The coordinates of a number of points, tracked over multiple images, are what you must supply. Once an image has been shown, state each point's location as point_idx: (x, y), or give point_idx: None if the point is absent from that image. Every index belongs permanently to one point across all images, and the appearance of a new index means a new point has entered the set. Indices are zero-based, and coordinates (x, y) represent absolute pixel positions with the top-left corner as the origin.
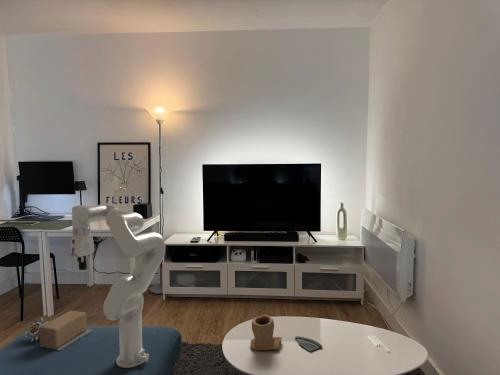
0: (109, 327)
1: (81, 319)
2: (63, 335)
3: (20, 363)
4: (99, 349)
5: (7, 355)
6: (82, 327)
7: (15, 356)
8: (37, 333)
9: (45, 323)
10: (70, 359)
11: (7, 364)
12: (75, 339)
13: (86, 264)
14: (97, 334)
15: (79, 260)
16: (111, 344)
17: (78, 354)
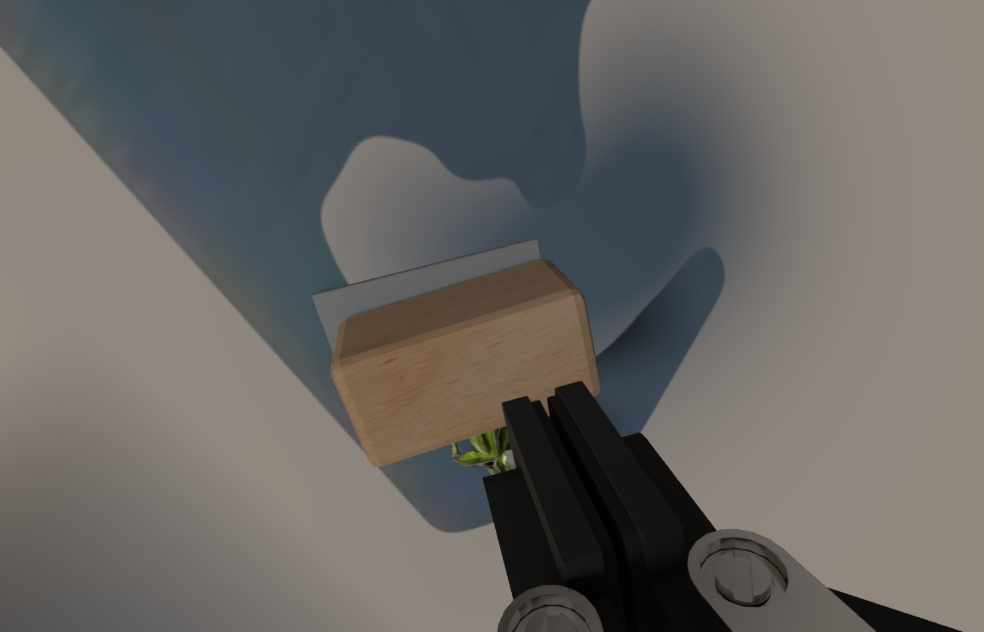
0: (219, 252)
1: (374, 340)
2: (509, 285)
3: (674, 280)
4: (412, 52)
5: (657, 387)
6: (369, 320)
7: (649, 354)
8: None
9: (510, 458)
10: (557, 105)
11: (698, 316)
12: (432, 274)
13: (533, 474)
14: (318, 233)
15: (870, 607)
16: (333, 36)
17: (507, 115)
